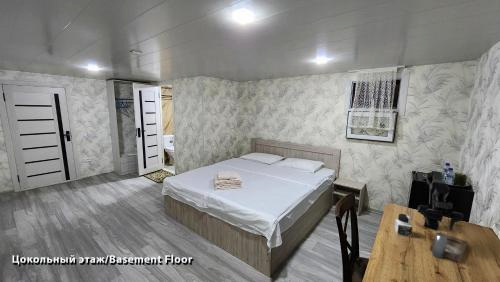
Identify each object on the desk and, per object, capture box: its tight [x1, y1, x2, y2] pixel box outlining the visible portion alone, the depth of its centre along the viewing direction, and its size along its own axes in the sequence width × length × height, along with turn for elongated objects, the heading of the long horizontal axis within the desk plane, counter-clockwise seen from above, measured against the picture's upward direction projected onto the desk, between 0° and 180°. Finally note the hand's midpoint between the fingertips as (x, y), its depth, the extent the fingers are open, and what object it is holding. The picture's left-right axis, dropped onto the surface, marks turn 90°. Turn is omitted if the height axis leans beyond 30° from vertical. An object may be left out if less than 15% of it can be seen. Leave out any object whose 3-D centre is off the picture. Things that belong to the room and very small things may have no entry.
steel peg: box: [432, 232, 447, 260], centre depth 110 cm, size 4×4×12 cm
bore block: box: [429, 231, 469, 264], centre depth 118 cm, size 12×22×2 cm, turn 127°
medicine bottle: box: [394, 213, 413, 238], centre depth 131 cm, size 7×7×12 cm
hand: (439, 227), depth 115 cm, fingers open, 9 cm apart
